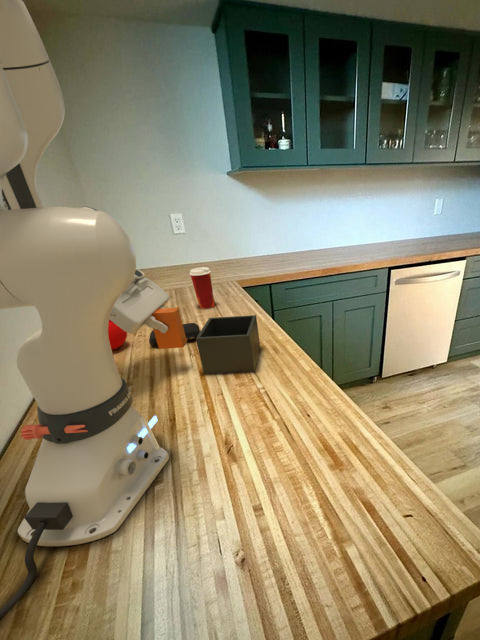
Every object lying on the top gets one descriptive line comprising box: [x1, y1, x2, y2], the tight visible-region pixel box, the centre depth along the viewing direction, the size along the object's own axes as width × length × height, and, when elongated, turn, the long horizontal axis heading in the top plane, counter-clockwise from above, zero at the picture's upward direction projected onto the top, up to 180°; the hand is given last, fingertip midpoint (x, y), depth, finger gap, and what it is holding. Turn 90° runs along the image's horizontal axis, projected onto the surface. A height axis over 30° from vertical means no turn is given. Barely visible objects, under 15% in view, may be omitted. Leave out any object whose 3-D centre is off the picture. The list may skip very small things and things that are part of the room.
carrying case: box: [148, 322, 201, 347], centre depth 102 cm, size 11×3×15 cm
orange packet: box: [152, 307, 188, 350], centre depth 80 cm, size 3×6×9 cm, turn 90°
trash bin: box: [195, 314, 261, 375], centre depth 86 cm, size 14×13×10 cm
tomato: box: [108, 319, 128, 351], centre depth 97 cm, size 10×10×10 cm
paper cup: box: [189, 266, 215, 310], centre depth 126 cm, size 8×8×14 cm
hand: (170, 326), depth 80 cm, fingers closed on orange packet, 3 cm apart
